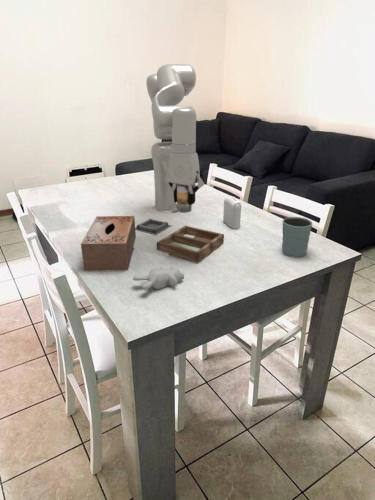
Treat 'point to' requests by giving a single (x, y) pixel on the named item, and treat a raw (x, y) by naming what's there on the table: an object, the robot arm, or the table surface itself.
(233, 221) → the photo printer
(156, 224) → the tester cradle
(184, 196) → the cell
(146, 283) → the bunny figurine
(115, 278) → the table surface
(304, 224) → the green tapered cup
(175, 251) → the wooden divided tray
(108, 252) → the tissue box cover
